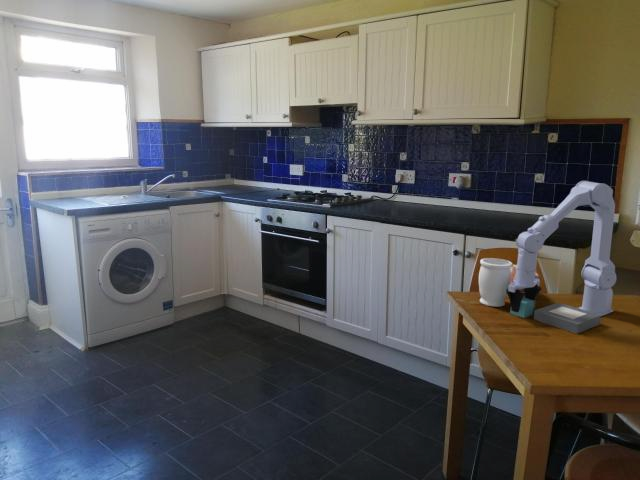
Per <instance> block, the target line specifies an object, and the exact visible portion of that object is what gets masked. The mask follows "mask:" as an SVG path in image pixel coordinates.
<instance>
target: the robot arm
mask: <svg viewBox="0 0 640 480" xmlns="http://www.w3.org/2000/svg"><path fill="white" fill-rule="evenodd" d="M613 194H614V190H613V188H612V187H610V186H609V185H608V184H606V183H599V182H594V181H588V180H581V181H579V182H577V183H576V185H575V186H574V187H572V188H571V189H570V192H569V194H568V195H567V196H566V197H565V199H564V200H563V201H562V202H560V203H559V204H558V206H557V207H556V208H555V209H554V210H553V211H552V212H551V213H550V214H544V215H543V216H542V215H541V216H539V217H538V219H537V221H536V222H535V223H534V224H533V225H532V226H530V227H528V228H527V231H522V232H521V233H519V235H518V237H517V238H515V244H516V246H517V252H518V254H517V262H516V265H517V271H516V279H513V280H512V282H513V283H512V284H511V285H509V288H508V289H506V292H507V296H508V299H509V303H510V304H509V305H510V309H511V310H512V311H514V312H519V309H520V304H521V301H522V298H523V296H524V295H525V298H527V299H530V300H534V301H535V299H536V300H537V296H538V295H539V293H540V292H541V291H542V287H541V286H540V284H541V280H540V278H539V279H536V278H535V273H536V272H537V262H538V256H539V255H538V254H539V251H540V250H542V248H543V246H544V243H545V241H546V240H547V239H548V238H549V237H550V236H551V235H552V234H553V233H554V232H555V231H556V230H558V229H559V223H560V222H561V221H562V220H563V219H564V218H565V217H566V216H569V214H571V212H573V211H574V210H575V209H577V207H580V206H590V207H591V208H592V209H594V217H593V227H592V228H593V229H592V238H591V239H592V240H591V246H590V255H589V257H588V258H586V259H585V260H584V266H583V267H582V268H581V269H582V270H581V273H580V274H581V278H582V279H583V280H584V282H583V283H584V287H583V288H584V289H583V296H582V301H581V303H582V305H581V306H579V307H578V308H579V309H582V310H586V311H589V312H592V313H596V314H599V315H601V317H603V316H605V315H608V314H610V313H612V312H614V309H612V304H613V303H612V302H613V296H614V291H613V289H612V287H613V286H614V285H615V284H616V282H617V274H616V265H615V264H614V262H612V260H611V259H610V257H611V248H612V247H611V246H612V238H613V231H614V220H615V219H614V218H615V211H616V203H615V200H614V197H613V196H614V195H613ZM520 289H524V292H525V294H524V293H521V292H520V291H519V290H520Z"/></svg>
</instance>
